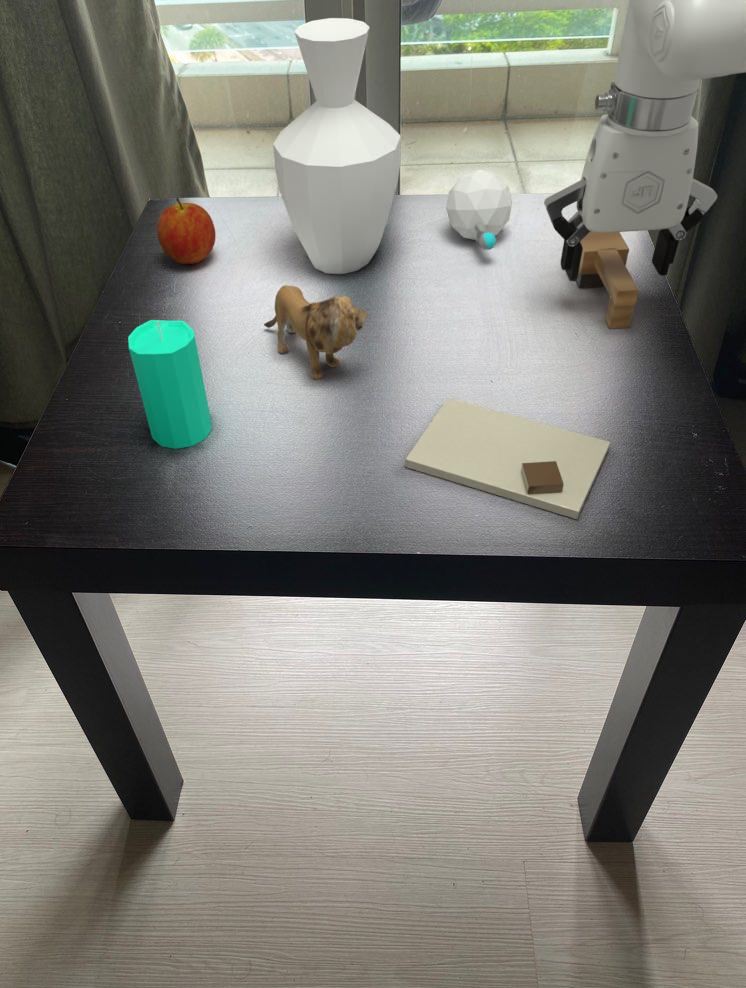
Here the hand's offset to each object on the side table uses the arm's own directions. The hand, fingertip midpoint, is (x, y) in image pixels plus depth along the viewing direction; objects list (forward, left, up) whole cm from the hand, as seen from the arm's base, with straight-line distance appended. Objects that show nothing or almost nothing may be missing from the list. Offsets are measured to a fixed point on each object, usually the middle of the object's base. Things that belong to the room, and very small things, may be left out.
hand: (614, 271), depth 91 cm
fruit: (+49, +10, -4) cm, 51 cm away
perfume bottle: (+18, -8, -4) cm, 20 cm away
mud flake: (-3, +32, -3) cm, 32 cm away
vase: (+32, +2, -4) cm, 33 cm away
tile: (+1, +29, -4) cm, 30 cm away
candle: (+31, +38, -4) cm, 50 cm away
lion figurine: (+25, +22, -4) cm, 34 cm away
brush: (+1, -2, -4) cm, 5 cm away
